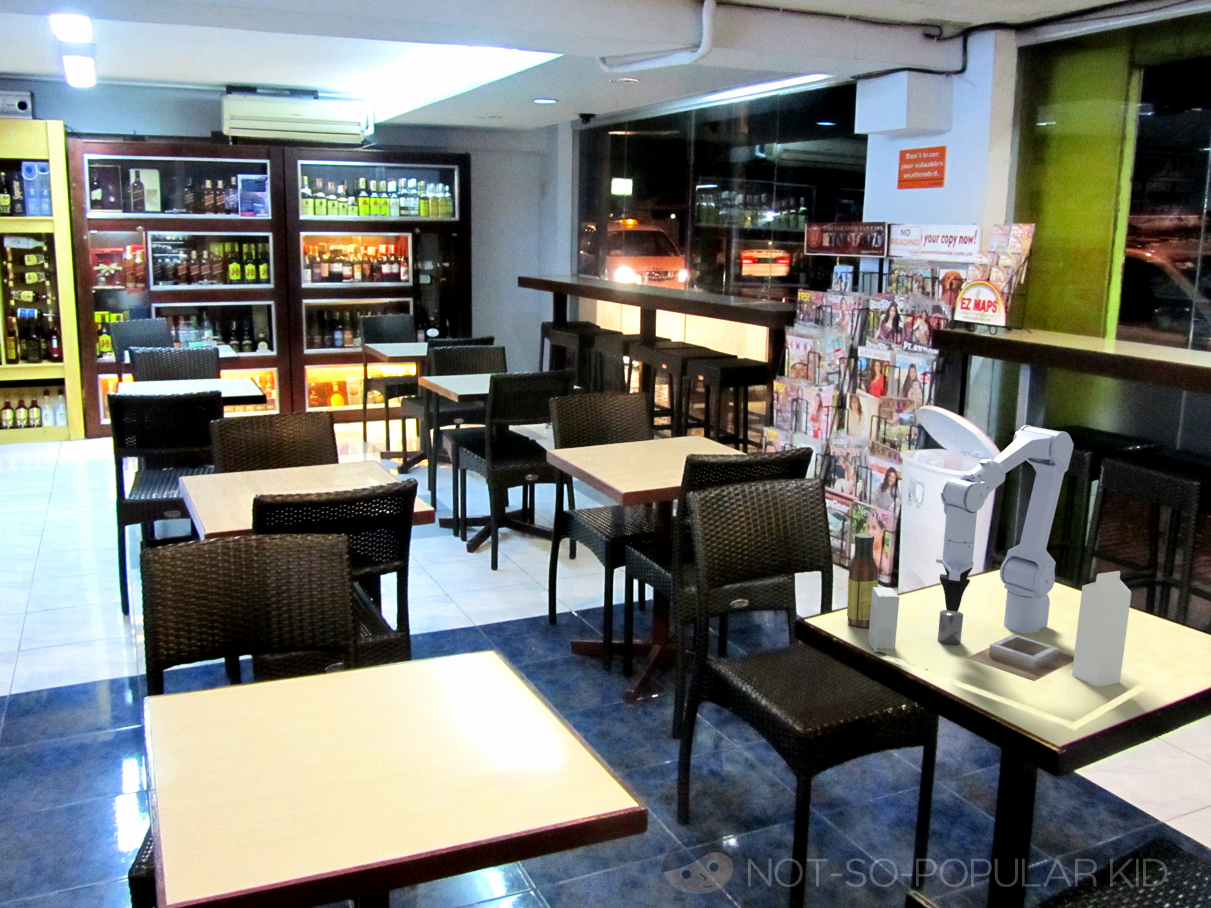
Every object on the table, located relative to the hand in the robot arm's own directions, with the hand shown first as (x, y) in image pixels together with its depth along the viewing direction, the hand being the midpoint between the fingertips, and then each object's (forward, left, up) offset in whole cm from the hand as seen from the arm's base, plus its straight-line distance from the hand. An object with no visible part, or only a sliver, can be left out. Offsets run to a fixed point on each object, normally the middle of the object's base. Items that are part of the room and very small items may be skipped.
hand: (953, 604), depth 212 cm
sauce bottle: (+1, -21, -10) cm, 23 cm away
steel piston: (-3, -2, -10) cm, 11 cm away
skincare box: (+9, -10, -10) cm, 17 cm away
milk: (-8, +26, -10) cm, 29 cm away
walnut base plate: (-7, +12, -10) cm, 17 cm away
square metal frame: (-7, +12, -9) cm, 17 cm away
